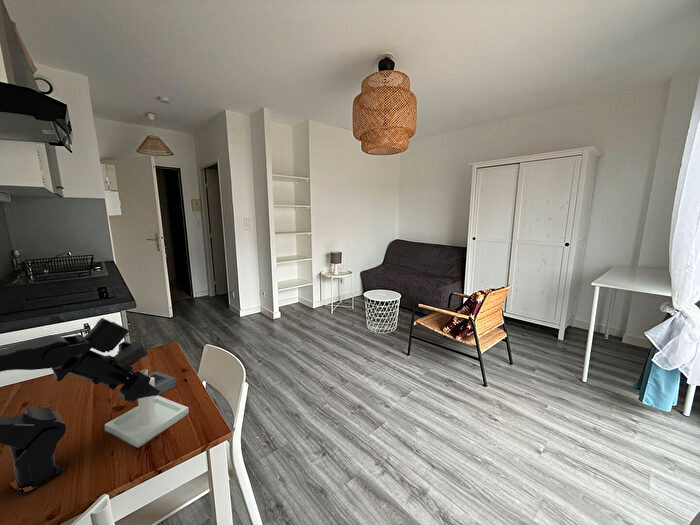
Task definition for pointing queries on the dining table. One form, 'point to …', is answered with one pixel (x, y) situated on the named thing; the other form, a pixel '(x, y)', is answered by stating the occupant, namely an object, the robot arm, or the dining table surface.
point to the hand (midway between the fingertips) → (150, 387)
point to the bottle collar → (163, 381)
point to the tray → (138, 435)
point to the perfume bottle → (147, 405)
